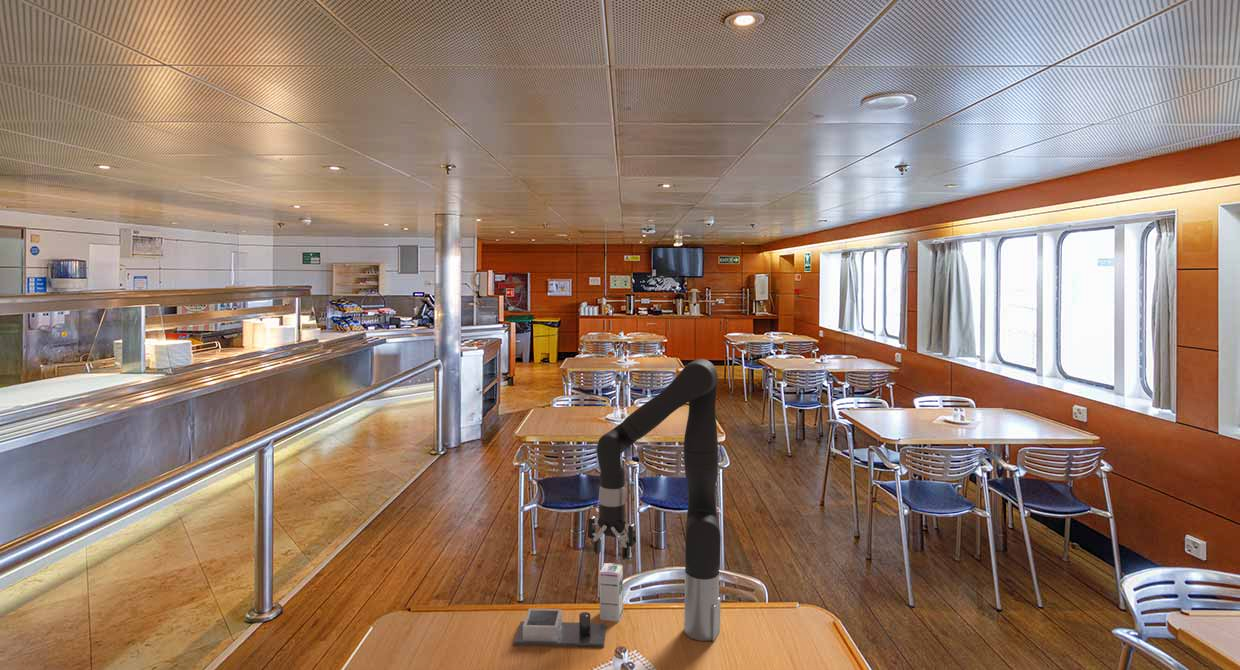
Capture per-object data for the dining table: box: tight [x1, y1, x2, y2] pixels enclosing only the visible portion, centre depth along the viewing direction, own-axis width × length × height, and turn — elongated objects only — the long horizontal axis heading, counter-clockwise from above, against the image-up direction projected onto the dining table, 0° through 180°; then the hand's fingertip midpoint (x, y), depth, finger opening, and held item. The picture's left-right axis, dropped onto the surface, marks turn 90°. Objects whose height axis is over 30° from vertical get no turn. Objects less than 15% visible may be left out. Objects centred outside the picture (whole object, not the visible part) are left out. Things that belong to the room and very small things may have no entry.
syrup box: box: [598, 562, 624, 623], centre depth 180 cm, size 6×6×14 cm
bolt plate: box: [513, 608, 607, 648], centre depth 171 cm, size 24×10×6 cm, turn 88°
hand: (611, 555), depth 179 cm, fingers open, 8 cm apart
